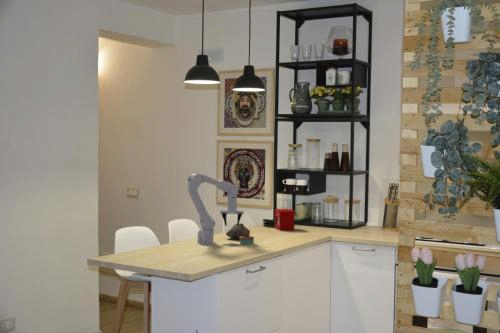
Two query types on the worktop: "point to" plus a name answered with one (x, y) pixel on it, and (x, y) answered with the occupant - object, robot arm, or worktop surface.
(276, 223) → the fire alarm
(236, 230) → the stone
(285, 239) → the worktop surface
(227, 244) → the mat
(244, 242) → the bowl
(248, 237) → the lid
